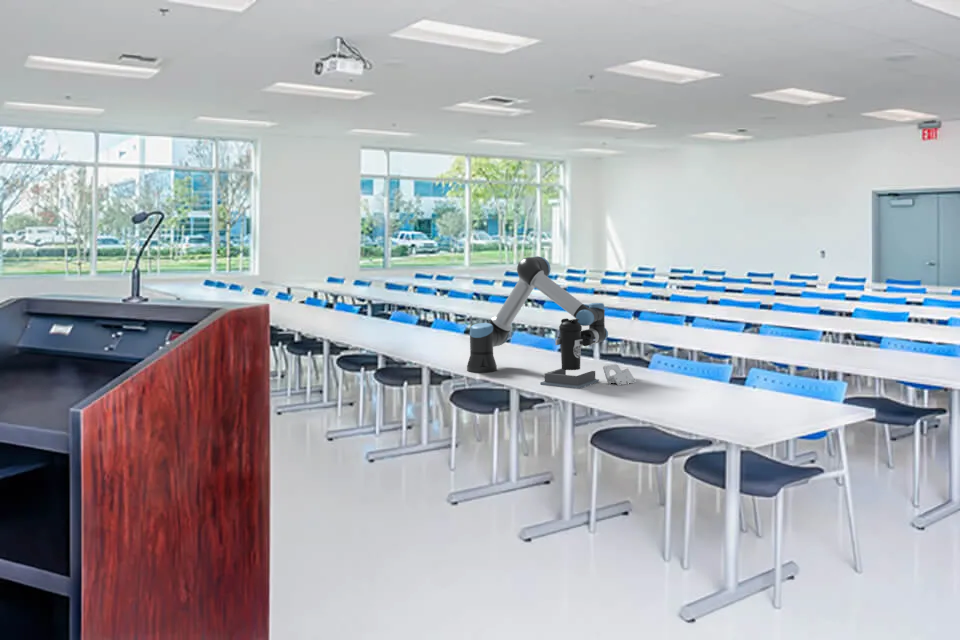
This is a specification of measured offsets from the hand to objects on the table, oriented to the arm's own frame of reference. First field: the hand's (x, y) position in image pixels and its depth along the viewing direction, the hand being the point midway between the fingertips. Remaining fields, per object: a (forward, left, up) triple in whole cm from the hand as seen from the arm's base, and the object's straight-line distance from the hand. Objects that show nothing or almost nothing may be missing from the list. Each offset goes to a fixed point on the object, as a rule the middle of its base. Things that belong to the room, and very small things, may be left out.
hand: (565, 342), depth 363 cm
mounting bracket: (+20, +16, -20) cm, 32 cm away
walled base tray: (0, +4, -19) cm, 20 cm away
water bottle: (0, +4, -13) cm, 13 cm away
